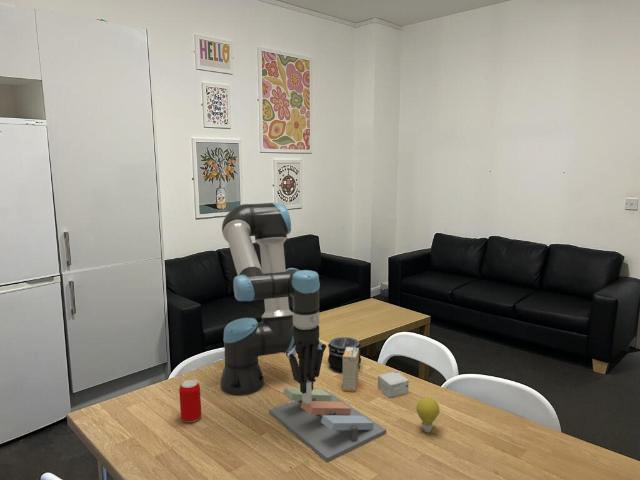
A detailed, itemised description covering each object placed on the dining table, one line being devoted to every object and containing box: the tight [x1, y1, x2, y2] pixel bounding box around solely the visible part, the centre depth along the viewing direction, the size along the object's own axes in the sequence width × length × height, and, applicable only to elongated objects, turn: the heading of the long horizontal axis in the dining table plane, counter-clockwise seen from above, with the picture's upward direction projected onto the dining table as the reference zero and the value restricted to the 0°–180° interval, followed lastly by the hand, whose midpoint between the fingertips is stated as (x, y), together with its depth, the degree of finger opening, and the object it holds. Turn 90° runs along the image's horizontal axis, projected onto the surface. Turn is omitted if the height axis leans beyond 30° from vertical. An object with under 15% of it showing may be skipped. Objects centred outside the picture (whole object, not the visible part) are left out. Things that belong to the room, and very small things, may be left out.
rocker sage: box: [282, 387, 332, 401], centre depth 153 cm, size 6×16×2 cm, turn 127°
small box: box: [377, 370, 410, 399], centre depth 165 cm, size 8×8×5 cm
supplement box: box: [341, 347, 359, 393], centre depth 168 cm, size 8×5×13 cm, turn 168°
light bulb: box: [416, 397, 440, 433], centre depth 142 cm, size 7×7×10 cm
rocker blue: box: [321, 415, 374, 431], centre depth 138 cm, size 6×16×2 cm, turn 127°
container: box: [327, 336, 362, 374], centre depth 183 cm, size 13×13×10 cm
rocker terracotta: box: [301, 401, 353, 415], centre depth 146 cm, size 6×16×2 cm, turn 127°
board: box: [269, 389, 387, 463], centre depth 146 cm, size 30×22×5 cm
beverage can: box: [178, 379, 202, 423], centre depth 148 cm, size 6×6×12 cm
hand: (306, 401), depth 140 cm, fingers closed
